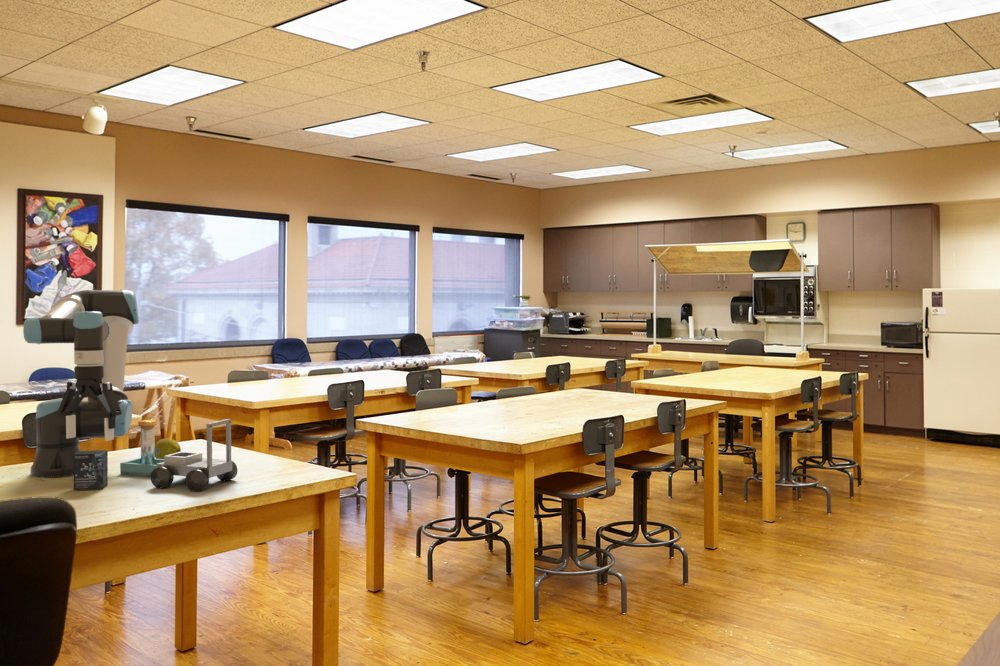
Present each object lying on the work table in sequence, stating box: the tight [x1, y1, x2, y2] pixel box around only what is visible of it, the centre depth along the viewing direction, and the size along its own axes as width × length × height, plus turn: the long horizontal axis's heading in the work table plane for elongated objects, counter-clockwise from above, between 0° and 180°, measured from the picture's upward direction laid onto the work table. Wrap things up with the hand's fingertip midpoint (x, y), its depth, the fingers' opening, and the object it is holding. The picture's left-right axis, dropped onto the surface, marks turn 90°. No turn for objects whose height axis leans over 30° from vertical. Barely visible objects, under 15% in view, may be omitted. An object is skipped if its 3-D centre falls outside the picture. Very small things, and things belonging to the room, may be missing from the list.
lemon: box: [155, 438, 182, 459], centre depth 269 cm, size 11×8×8 cm
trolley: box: [150, 418, 238, 493], centre depth 238 cm, size 18×16×19 cm
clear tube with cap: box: [137, 419, 158, 465], centre depth 253 cm, size 5×5×15 cm
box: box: [73, 449, 109, 491], centre depth 232 cm, size 8×6×11 cm
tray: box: [119, 457, 164, 477], centre depth 253 cm, size 13×9×4 cm
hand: (90, 439), depth 232 cm, fingers open, 13 cm apart
